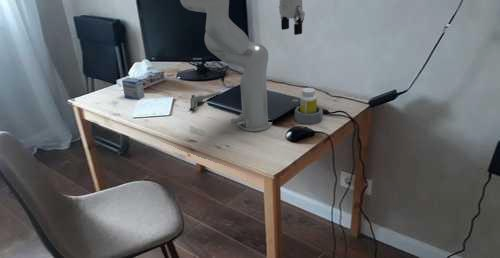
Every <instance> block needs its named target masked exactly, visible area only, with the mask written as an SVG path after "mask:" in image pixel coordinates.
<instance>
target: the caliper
mask: <svg viewBox="0 0 500 258" xmlns="http://www.w3.org/2000/svg"><path fill="white" fill-rule="evenodd" d="M220 93H222V94H223V91H222V92H221V91H215V92H212V93H209V94H204V95H203V94H201V95H197V94H191V97H190V100H189V101H190V102H189V103H190V109H191V110H194V109H197V106H198V103H201V102H203V101H204V100H206V99H211V98H214V96H215V97H217V96H216V95H218V94H220Z"/></svg>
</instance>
